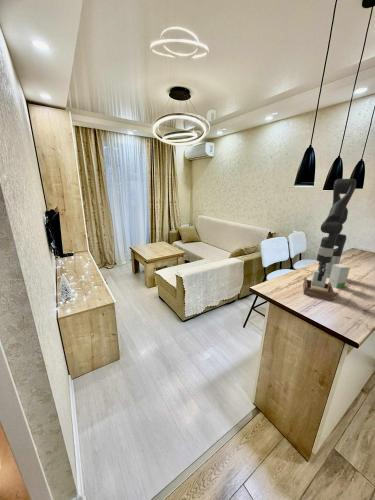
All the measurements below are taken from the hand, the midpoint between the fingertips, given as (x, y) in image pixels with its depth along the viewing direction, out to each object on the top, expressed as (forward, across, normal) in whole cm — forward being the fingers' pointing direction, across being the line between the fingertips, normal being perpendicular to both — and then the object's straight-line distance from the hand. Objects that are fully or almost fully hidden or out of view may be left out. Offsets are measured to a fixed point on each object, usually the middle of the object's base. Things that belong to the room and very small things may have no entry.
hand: (318, 279), depth 133 cm
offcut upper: (+5, +7, 0) cm, 9 cm away
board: (+5, 0, 0) cm, 5 cm away
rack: (+9, +3, 0) cm, 9 cm away
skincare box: (+9, -16, +13) cm, 23 cm away
